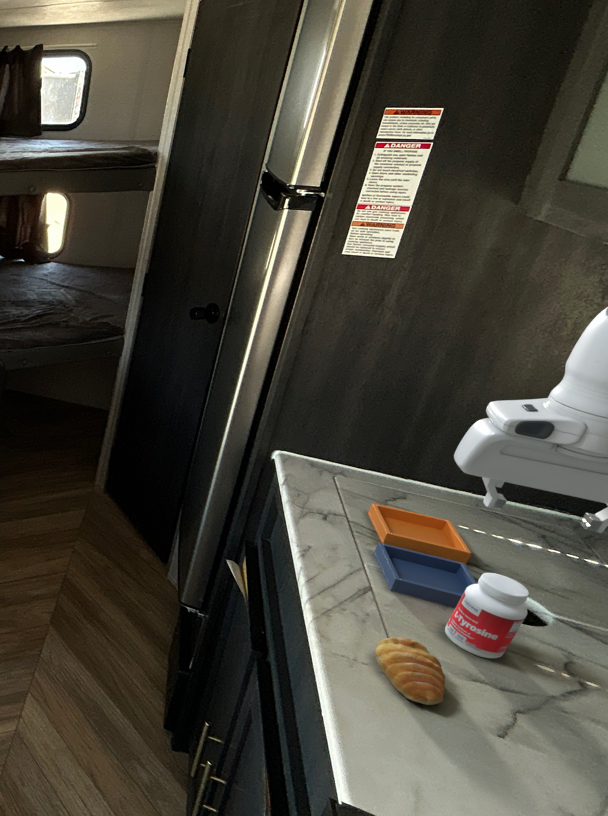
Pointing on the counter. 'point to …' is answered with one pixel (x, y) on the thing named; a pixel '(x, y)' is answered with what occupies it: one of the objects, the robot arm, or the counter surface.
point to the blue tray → (423, 574)
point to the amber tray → (418, 533)
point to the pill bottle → (488, 615)
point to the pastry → (411, 669)
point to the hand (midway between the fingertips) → (539, 517)
